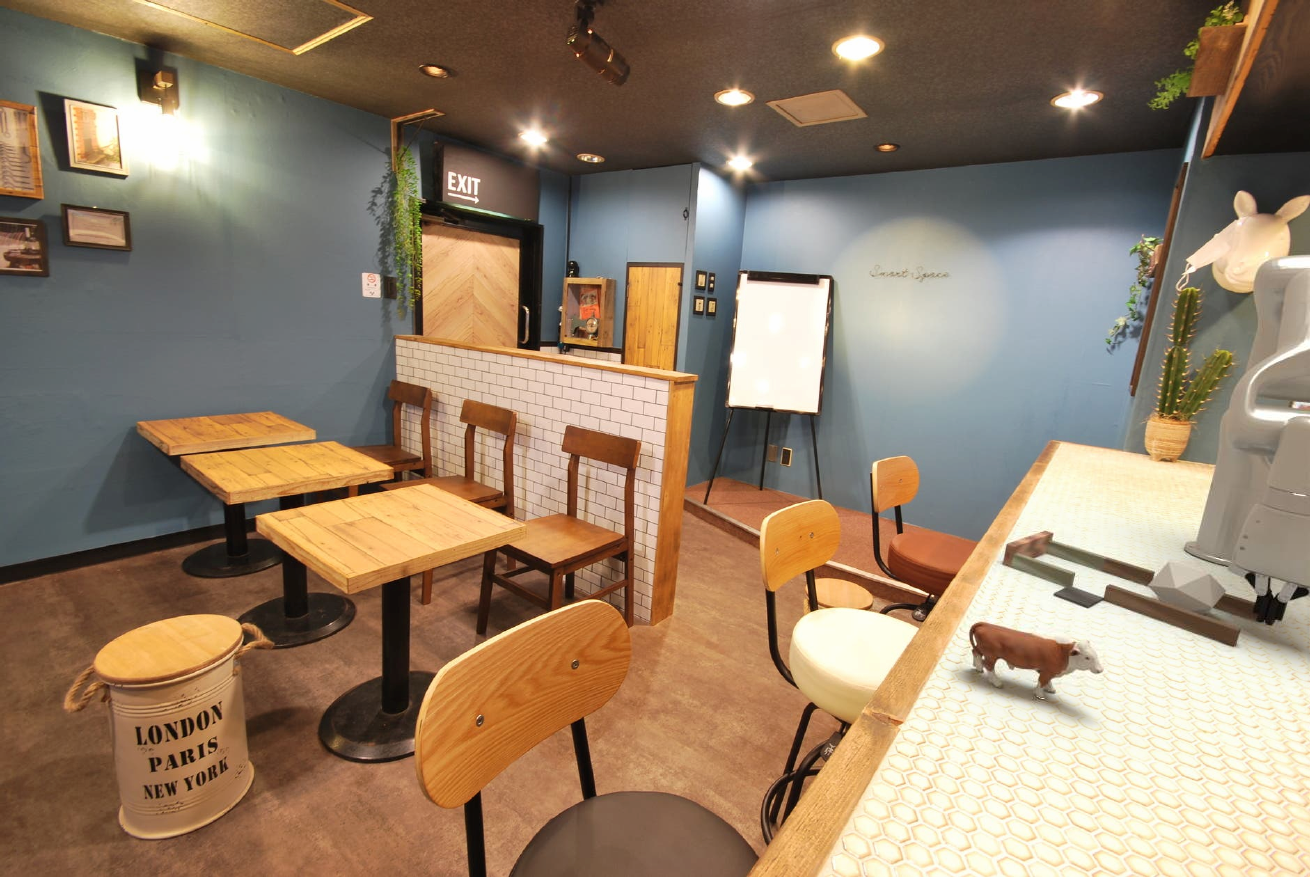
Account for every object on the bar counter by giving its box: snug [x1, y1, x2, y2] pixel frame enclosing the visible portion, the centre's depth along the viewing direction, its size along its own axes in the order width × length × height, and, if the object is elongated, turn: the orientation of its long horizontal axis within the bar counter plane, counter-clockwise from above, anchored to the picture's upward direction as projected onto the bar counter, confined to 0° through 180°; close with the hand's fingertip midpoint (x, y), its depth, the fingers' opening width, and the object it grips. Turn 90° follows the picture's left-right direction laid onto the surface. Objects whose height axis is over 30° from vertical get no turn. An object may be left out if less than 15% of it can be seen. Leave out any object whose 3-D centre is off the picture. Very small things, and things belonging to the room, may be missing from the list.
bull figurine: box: [968, 621, 1104, 698], centre depth 70 cm, size 4×13×8 cm, turn 58°
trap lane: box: [1002, 530, 1258, 647], centre depth 101 cm, size 28×32×4 cm
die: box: [1147, 560, 1227, 616], centre depth 94 cm, size 8×9×10 cm
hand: (1265, 621), depth 87 cm, fingers closed
